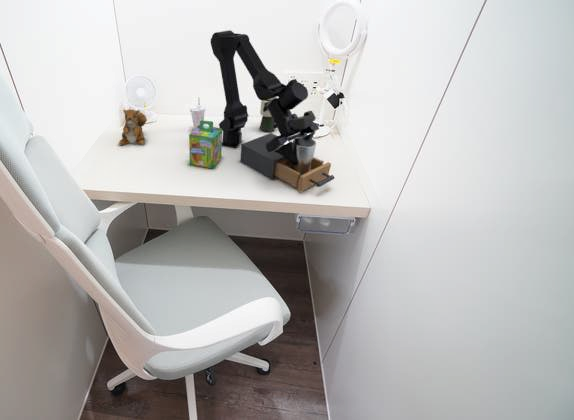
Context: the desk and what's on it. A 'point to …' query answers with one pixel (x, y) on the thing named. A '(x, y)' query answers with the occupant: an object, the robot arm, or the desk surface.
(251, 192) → the desk surface
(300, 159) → the steel cup
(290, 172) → the drawer
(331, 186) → the desk surface
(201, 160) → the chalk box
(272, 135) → the organizer
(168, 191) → the desk surface
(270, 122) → the character mug
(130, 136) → the stuffed squirrel
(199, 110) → the smoothie
